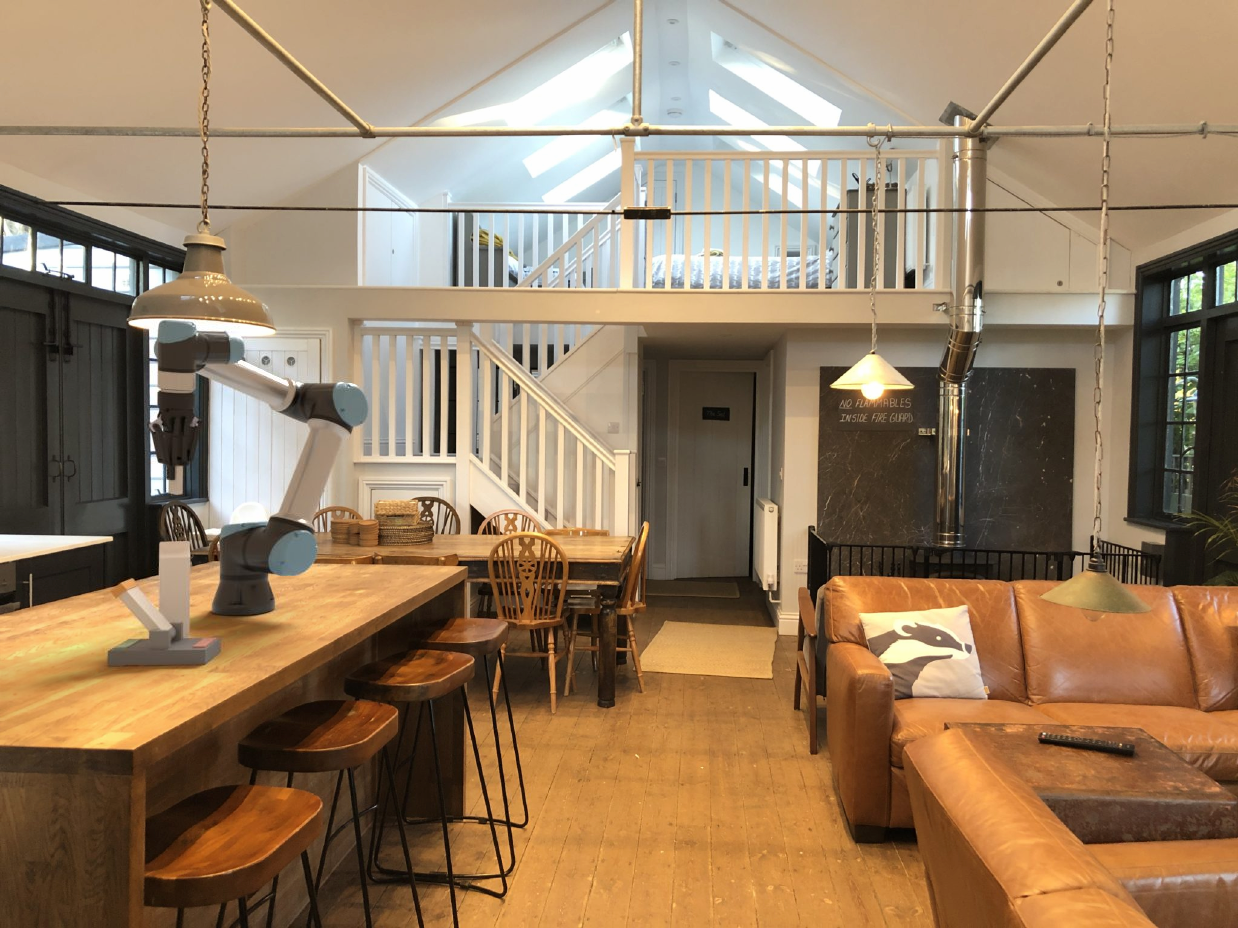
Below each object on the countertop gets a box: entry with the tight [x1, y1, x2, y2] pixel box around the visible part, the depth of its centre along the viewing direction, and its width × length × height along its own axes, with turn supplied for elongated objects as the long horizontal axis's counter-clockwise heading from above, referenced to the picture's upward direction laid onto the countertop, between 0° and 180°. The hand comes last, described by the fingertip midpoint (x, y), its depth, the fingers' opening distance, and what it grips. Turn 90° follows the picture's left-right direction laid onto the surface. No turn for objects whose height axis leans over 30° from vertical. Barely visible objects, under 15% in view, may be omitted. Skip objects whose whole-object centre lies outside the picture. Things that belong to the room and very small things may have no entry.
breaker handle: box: [109, 578, 177, 639], centre depth 170 cm, size 3×6×15 cm
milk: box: [158, 540, 191, 638], centre depth 185 cm, size 6×6×22 cm
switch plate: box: [107, 622, 222, 667], centre depth 170 cm, size 18×10×7 cm, turn 99°
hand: (175, 493), depth 191 cm, fingers closed
